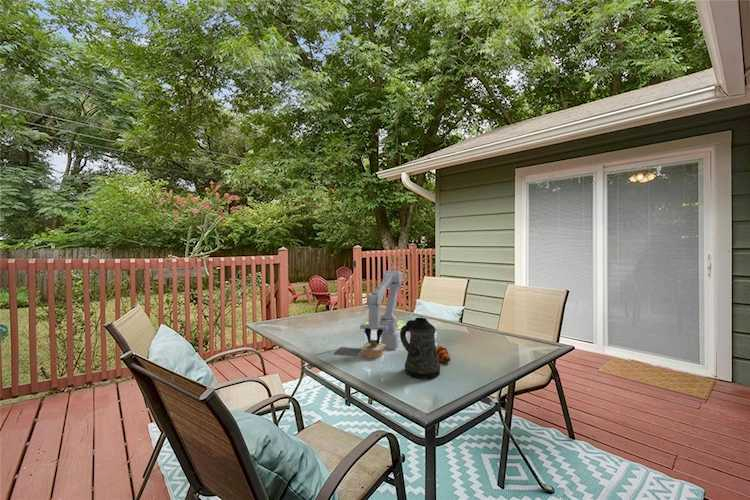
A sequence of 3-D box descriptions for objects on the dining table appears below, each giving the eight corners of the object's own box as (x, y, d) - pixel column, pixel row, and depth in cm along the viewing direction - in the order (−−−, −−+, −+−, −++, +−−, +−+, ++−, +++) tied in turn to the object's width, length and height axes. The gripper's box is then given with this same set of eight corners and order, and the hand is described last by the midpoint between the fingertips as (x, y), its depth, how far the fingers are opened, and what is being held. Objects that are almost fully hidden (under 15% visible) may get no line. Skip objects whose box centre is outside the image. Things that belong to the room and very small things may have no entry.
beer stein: (440, 381, 149) (440, 324, 148) (395, 377, 153) (396, 321, 152) (440, 367, 165) (441, 316, 164) (400, 364, 169) (401, 314, 168)
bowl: (383, 354, 184) (383, 345, 184) (379, 359, 175) (380, 350, 175) (367, 352, 186) (367, 344, 186) (363, 357, 177) (363, 349, 177)
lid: (386, 345, 185) (386, 338, 185) (381, 351, 174) (381, 344, 174) (366, 343, 187) (366, 337, 187) (360, 349, 177) (360, 342, 177)
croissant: (423, 358, 188) (417, 346, 186) (437, 348, 191) (431, 336, 190) (444, 371, 168) (438, 358, 167) (460, 359, 171) (453, 346, 170)
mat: (362, 349, 191) (362, 348, 191) (355, 357, 178) (355, 356, 178) (340, 347, 194) (340, 346, 194) (332, 355, 182) (332, 354, 182)
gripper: (358, 318, 178) (358, 344, 178) (385, 320, 174) (385, 346, 175) (362, 315, 185) (362, 340, 185) (388, 317, 181) (388, 342, 182)
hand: (373, 343), depth 180 cm, fingers open, 4 cm apart
